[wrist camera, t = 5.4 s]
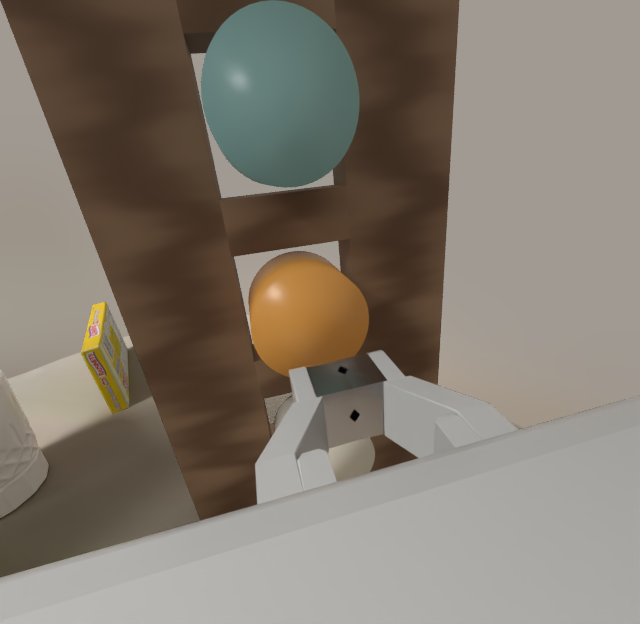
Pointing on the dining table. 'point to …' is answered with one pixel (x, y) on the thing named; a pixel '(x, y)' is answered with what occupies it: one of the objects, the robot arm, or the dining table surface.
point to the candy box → (107, 357)
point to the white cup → (17, 453)
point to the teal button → (280, 94)
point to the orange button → (305, 312)
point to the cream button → (341, 451)
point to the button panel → (244, 204)
